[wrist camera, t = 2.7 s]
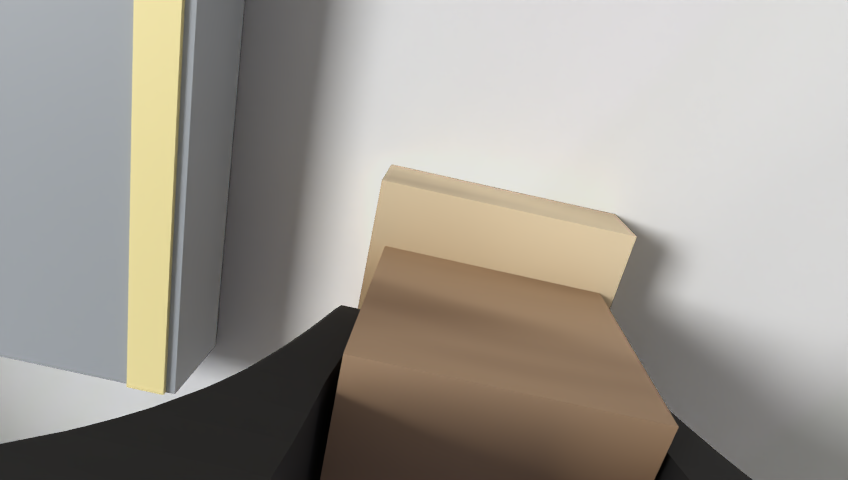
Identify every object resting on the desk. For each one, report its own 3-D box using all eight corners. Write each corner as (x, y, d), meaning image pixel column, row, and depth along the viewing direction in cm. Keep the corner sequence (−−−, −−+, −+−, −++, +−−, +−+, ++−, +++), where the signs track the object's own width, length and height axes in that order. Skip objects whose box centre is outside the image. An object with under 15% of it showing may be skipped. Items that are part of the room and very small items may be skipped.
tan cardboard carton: (526, 461, 14) (568, 705, 9) (341, 421, 14) (271, 642, 9) (614, 214, 11) (743, 345, 6) (391, 164, 11) (334, 255, 6)
